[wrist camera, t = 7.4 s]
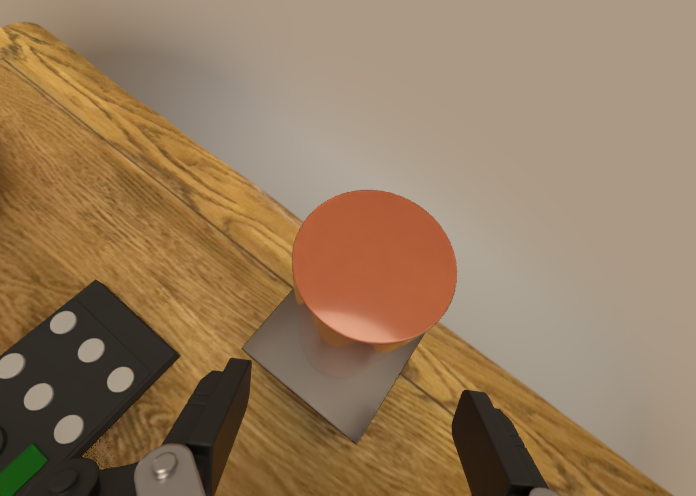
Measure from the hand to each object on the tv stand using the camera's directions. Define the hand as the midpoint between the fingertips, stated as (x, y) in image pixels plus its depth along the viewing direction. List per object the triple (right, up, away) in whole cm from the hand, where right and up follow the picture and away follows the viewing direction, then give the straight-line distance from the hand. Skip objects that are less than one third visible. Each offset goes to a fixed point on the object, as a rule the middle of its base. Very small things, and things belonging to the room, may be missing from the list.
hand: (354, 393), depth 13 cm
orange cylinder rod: (-1, -1, +12) cm, 12 cm away
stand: (-2, -5, +21) cm, 22 cm away
